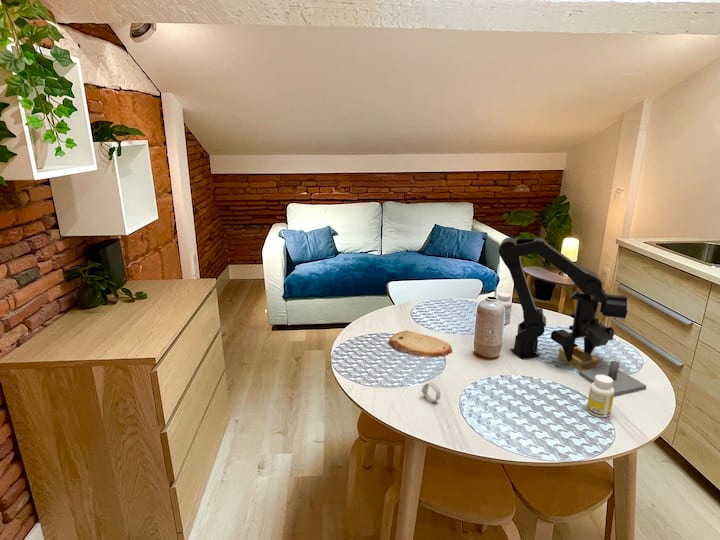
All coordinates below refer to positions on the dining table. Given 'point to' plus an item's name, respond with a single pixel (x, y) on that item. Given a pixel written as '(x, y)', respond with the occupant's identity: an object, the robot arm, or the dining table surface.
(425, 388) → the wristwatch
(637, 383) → the keeper plate
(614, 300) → the robot arm
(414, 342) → the bread slice
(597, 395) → the supplement bottle
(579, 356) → the wooden tray box
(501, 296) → the pill bottle
